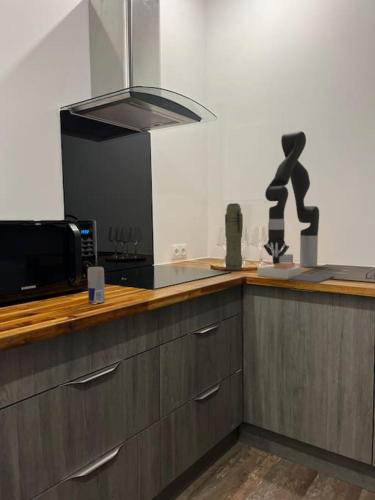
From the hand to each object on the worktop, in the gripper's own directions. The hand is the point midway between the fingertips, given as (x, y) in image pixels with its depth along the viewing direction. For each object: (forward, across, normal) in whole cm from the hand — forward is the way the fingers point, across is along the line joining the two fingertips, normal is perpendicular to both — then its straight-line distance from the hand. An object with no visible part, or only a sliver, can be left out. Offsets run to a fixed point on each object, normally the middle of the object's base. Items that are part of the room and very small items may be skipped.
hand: (276, 264), depth 182 cm
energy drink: (+5, +19, +89) cm, 91 cm away
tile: (+1, -4, 0) cm, 5 cm away
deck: (+5, -2, 0) cm, 5 cm away
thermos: (+5, +27, -4) cm, 28 cm away
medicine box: (+5, +3, -15) cm, 16 cm away
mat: (+5, -17, 0) cm, 18 cm away
